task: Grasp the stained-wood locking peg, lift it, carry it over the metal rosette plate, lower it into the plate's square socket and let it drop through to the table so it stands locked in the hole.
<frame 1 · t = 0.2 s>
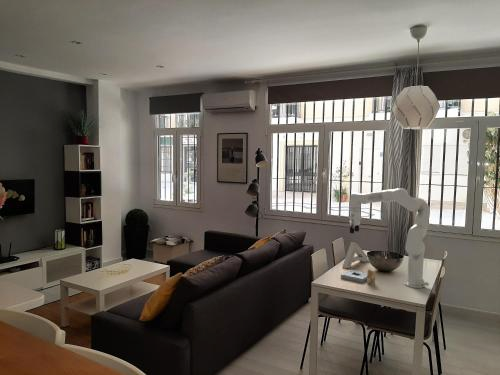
hand: (354, 232, 292), 31 cm above the table, fingers open, 9 cm apart
locking peg: (371, 283, 269), on the table
rosette plate: (355, 278, 281), on the table
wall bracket: (356, 264, 319), on the table
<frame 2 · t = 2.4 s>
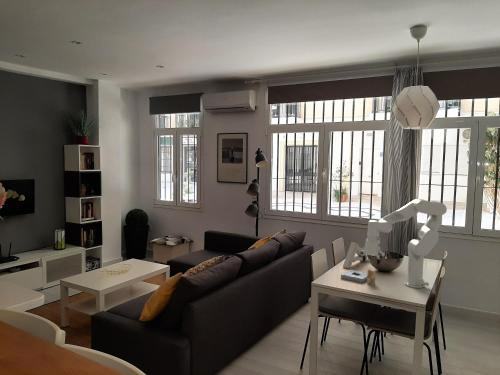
hand: (371, 263, 268), 14 cm above the table, fingers open, 9 cm apart
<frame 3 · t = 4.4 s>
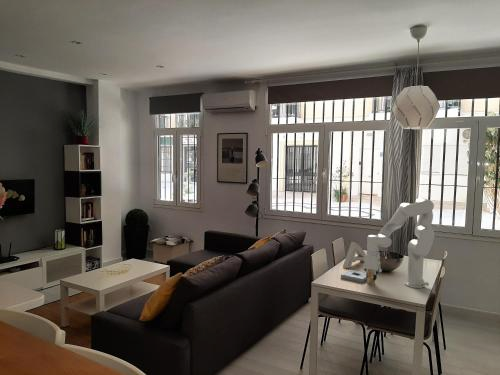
hand: (371, 279, 269), 3 cm above the table, fingers closed on locking peg, 3 cm apart
locking peg: (371, 283, 269), on the table, touching gripper
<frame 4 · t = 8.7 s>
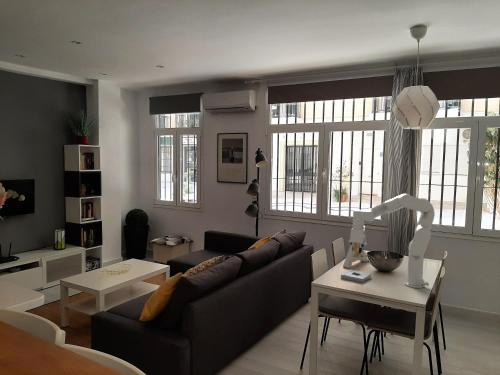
hand: (357, 252, 279), 19 cm above the table, fingers closed on locking peg, 4 cm apart
locking peg: (356, 256, 280), point 16 cm above the table, touching gripper
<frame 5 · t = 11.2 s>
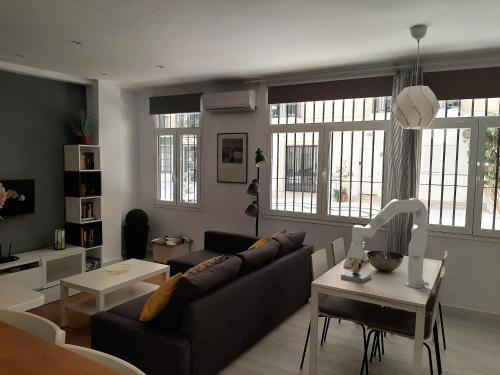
hand: (356, 267, 280), 8 cm above the table, fingers closed on locking peg, 4 cm apart
locking peg: (356, 272, 281), point 5 cm above the table, touching gripper
when the fingers open (5 cm above the table, at t = 13.1 s): locking peg drops 2 cm, resting in rosette plate.
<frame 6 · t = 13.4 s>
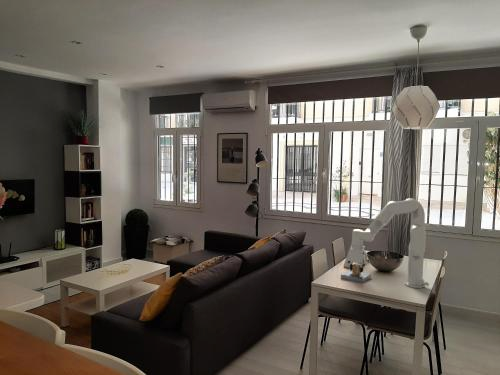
hand: (356, 271, 281), 5 cm above the table, fingers open, 6 cm apart
locking peg: (356, 278, 281), resting in rosette plate
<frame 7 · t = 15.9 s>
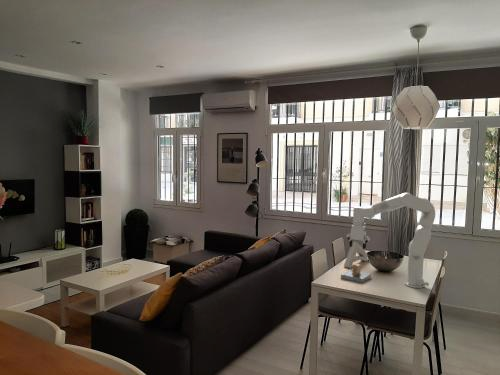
hand: (357, 247, 279), 22 cm above the table, fingers open, 9 cm apart
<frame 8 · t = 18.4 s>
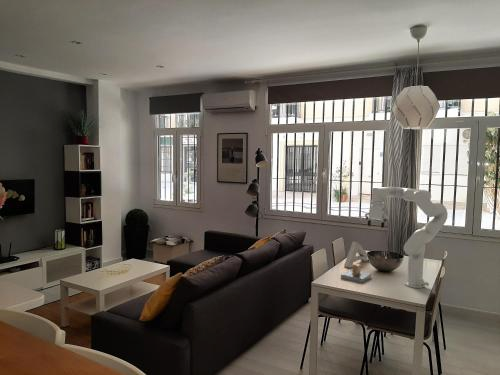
hand: (375, 226, 286), 36 cm above the table, fingers open, 9 cm apart
at the end: locking peg 0.1 cm off-centre on the rosette plate, point 0.0 cm above the rosette plate's base; locking peg tilted 0°; the gripper is holding nothing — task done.
